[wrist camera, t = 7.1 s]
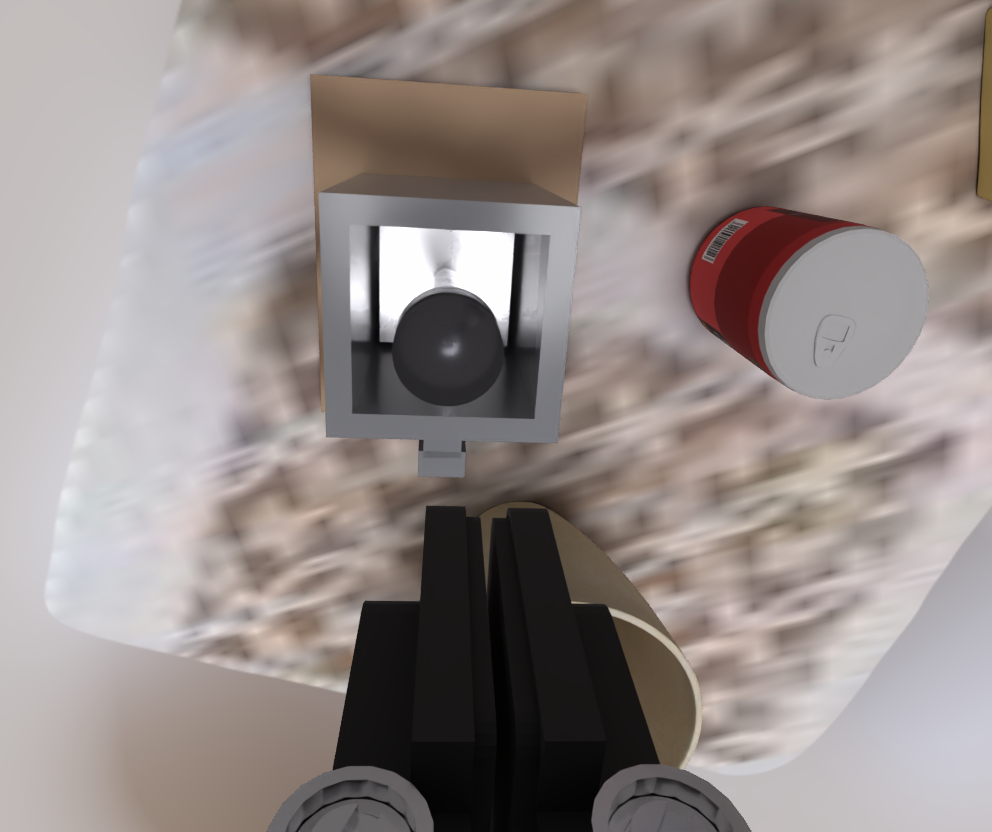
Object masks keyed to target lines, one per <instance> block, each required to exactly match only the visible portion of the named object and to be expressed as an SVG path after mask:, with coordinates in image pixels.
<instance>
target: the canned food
mask: <svg viewBox="0 0 992 832" xmlns="http://www.w3.org/2000/svg"><path fill="white" fill-rule="evenodd" d="M690 292H691V299H692V304H693V307H694V309H695V312H696V314H697V316H698V318H699V319H700V321H701V323H702V324H703V325H704V326H705V327H706V328H707V329H708V330H709V331H710V332H711V333H712V334H714V335H715V336H717V337H718V338H719V339H721V340H722V341H723V342H725V343H726V344H727V345H729V346H730V347H731V348H733V349H734V350H736V351H737V352H738V353H740V354H741V355H742V356H744V357H745V358H746V359H748V360H749V361H750V362H752V363H753V364H754V365H756V366H757V367H759V368H760V369H761V370H763V371H764V372H765V373H767V374H768V375H769V376H771V377H772V378H774V379H776V380H777V381H779V382H780V383H781V384H783V385H784V386H786V387H788V388H789V389H791V390H793V391H795V392H798V393H799V394H802V395H805V396H808V397H811V398H816V399H826V400H830V399H840V398H845V397H849V396H852V395H856V394H859V393H861V392H863V391H865V390H867V389H869V388H871V387H873V386H875V385H876V384H878V383H879V382H881V381H882V380H883V379H885V378H886V377H888V376H889V375H890V374H891V373H892V372H893V371H894V370H895V369H896V368H897V367H898V366H899V365H900V364H901V363H902V362H903V360H904V359H905V358H906V357H907V355H908V354H909V353H910V351H911V350H912V348H913V346H914V345H915V343H916V341H917V339H918V337H919V336H920V333H921V330H922V328H923V325H924V322H925V320H926V315H927V309H928V304H929V285H928V280H927V275H926V271H925V269H924V266H923V264H922V262H921V260H920V258H919V256H918V255H917V254H916V252H915V251H914V250H913V249H912V248H911V246H910V245H909V244H907V243H906V242H904V241H903V240H902V239H900V238H899V237H898V236H895V235H893V234H891V233H888V232H886V231H883V230H881V229H878V228H875V227H870V226H866V225H863V224H858V223H853V222H848V221H843V220H838V219H832V218H827V217H822V216H817V215H812V214H807V213H802V212H797V211H792V210H787V209H781V208H775V207H768V206H767V207H755V208H751V209H748V210H745V211H741V212H739V213H737V214H736V215H734V216H732V217H730V218H728V219H726V220H725V221H723V222H722V223H721V224H720V225H718V226H717V227H716V228H714V230H713V231H712V232H711V233H710V234H709V235H708V236H707V237H706V238H705V240H704V242H703V243H702V245H701V246H700V248H699V249H698V252H697V254H696V256H695V259H694V261H693V265H692V269H691V273H690Z"/></svg>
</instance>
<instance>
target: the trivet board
mask: <svg viewBox="0 0 992 832" xmlns="http://www.w3.org/2000/svg"><path fill="white" fill-rule="evenodd" d="M310 79H311V109H312V139H313V169H314V199H315V229H316V260H317V290H318V320H319V350H320V380H321V410H322V412H325V382H324V350H323V317H322V285H321V253H320V221H319V192H320V191H323V190H325V189H327V188H329V187H332V186H334V185H336V184H339V183H341V182H343V181H345V180H348V179H350V178H352V177H354V176H357V175H359V174H361V173H371V174H388V175H404V176H421V177H438V178H455V179H471V180H488V181H505V182H522V183H533V184H535V185H537V186H539V187H541V188H543V189H546V190H548V191H550V192H552V193H554V194H556V195H558V196H560V197H562V198H564V199H566V200H568V201H570V202H572V203H574V204H576V205H577V199H578V189H579V179H580V169H581V159H582V149H583V138H584V128H585V118H586V108H587V98H588V94H580V93H566V92H552V91H538V90H524V89H510V88H496V87H482V86H468V85H454V84H440V83H426V82H412V81H398V80H384V79H370V78H356V77H342V76H328V75H314V74H310Z"/></svg>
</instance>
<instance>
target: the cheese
mask: <svg viewBox="0 0 992 832" xmlns="http://www.w3.org/2000/svg"><path fill="white" fill-rule="evenodd" d="M977 195H978V196H979V197H982V198H985V199H987V200H990V201H992V8H991V9H989V11H988V12H987V14H986V26H985V45H984V62H983V79H982V97H981V129H980V163H979V177H978V190H977Z"/></svg>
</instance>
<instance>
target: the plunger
mask: <svg viewBox="0 0 992 832" xmlns="http://www.w3.org/2000/svg"><path fill="white" fill-rule="evenodd" d="M514 237H515V233H502V232H483V231H464V230H445V229H426V228H407V227H389V226H380V342H393V345H392V359H393V364H394V368H395V371H396V373H397V375H398V377H399V379H400V381H401V382H402V384H403V385H404V386H405V387H406V388H407V390H408V391H410V392H411V393H412V394H413V395H414V396H416V397H417V398H419V399H421V400H423V401H425V402H427V403H430V404H434V405H438V406H458V405H463V404H466V403H469V402H471V401H474V400H476V399H477V398H479V397H481V396H482V395H483V394H485V393H486V392H487V391H488V390H489V389H490V388H491V387H492V385H493V384H494V383H495V381H496V380H497V378H498V376H499V374H500V372H501V369H502V365H503V360H504V346H506V347H507V339H508V325H509V310H510V295H511V281H512V266H513V251H514Z"/></svg>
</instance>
